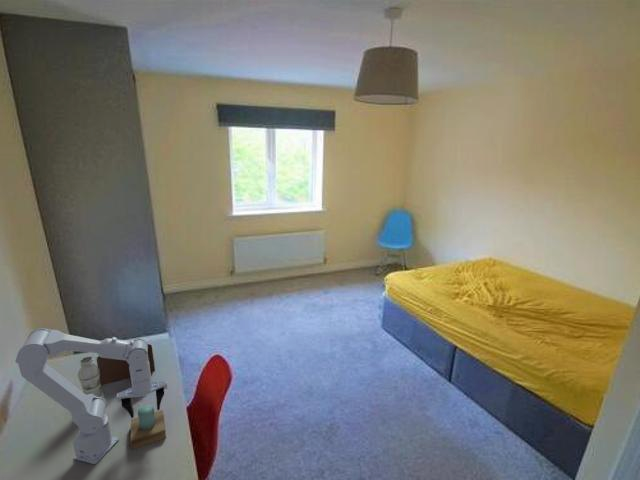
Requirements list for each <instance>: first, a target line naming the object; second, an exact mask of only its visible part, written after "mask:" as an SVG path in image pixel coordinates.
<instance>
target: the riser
mask: <svg viewBox="0 0 640 480" xmlns="http://www.w3.org/2000/svg"><path fill="white" fill-rule="evenodd" d="M154 412H155V420H156V424H155V426H154V427H153V428H151V429H149V430H141V429H140V425H139V418H138V417H134V418H131V419H130V446H131V450H133V449H136V448H139V447H142V446H145V445H148V444H151V443H154V442H157V441H159V440H162V439H165V438H167V434H166V424H165V423H166V422H165V414H164V409H161V410H157V411H154Z"/></svg>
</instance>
